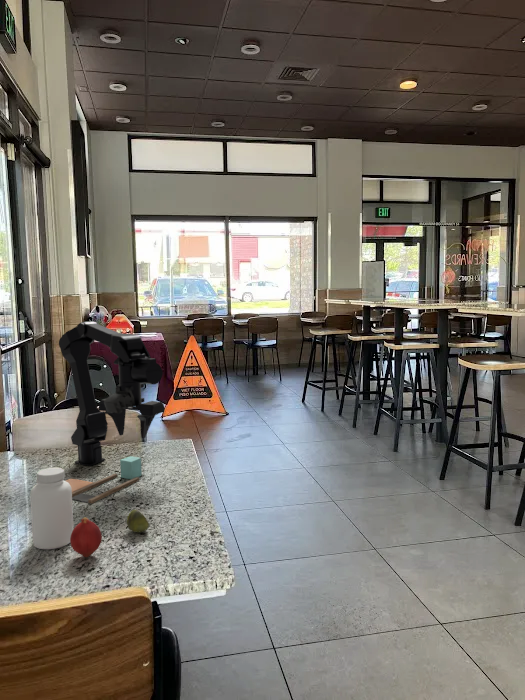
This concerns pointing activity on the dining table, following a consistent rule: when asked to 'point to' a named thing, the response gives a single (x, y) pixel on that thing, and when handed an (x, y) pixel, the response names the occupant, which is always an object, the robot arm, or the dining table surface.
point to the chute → (87, 498)
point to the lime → (137, 521)
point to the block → (130, 467)
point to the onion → (86, 537)
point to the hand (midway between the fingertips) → (132, 436)
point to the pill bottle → (51, 509)
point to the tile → (77, 484)
